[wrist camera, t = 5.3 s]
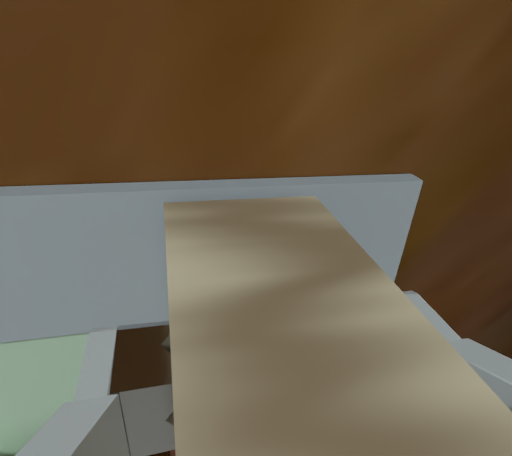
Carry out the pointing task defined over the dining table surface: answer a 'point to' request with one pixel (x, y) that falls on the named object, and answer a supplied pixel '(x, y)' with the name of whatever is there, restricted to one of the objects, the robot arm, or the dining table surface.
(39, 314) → the board
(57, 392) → the mat
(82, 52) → the dining table surface
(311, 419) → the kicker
